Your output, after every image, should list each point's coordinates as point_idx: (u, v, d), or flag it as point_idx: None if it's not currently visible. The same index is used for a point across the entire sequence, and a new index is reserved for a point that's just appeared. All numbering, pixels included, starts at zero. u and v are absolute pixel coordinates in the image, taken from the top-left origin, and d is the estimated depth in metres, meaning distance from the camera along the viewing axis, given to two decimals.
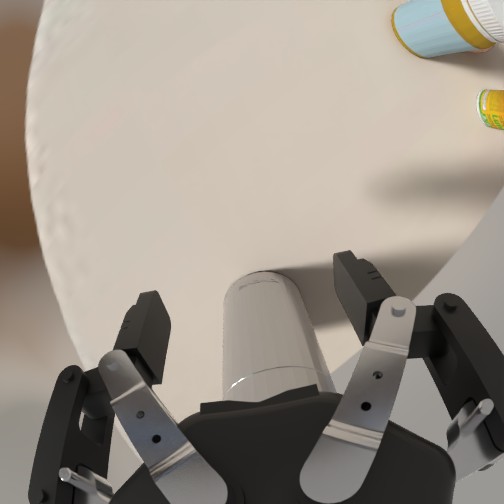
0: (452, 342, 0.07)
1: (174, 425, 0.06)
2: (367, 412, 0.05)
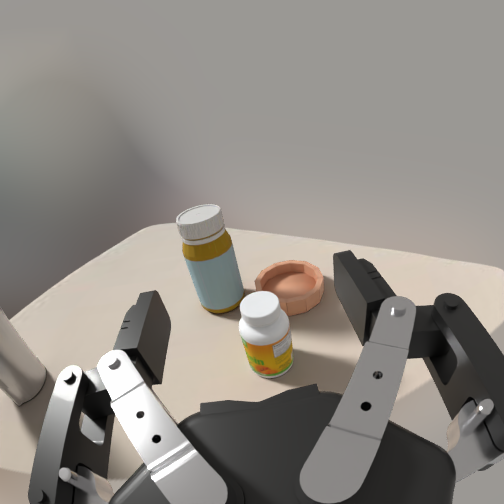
0: (452, 342, 0.07)
1: (174, 425, 0.06)
2: (367, 412, 0.05)
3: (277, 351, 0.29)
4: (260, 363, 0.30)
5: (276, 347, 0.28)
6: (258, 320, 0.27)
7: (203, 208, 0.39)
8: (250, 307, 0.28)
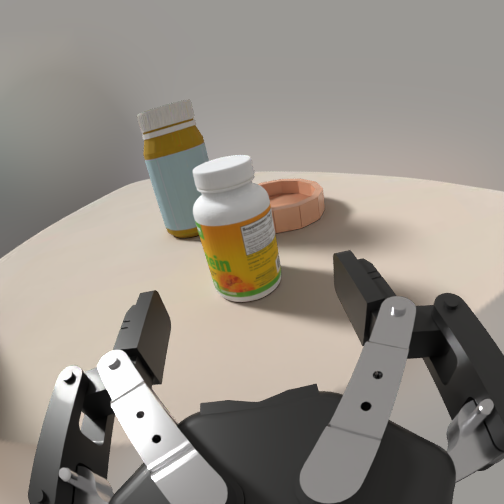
0: (452, 342, 0.07)
1: (174, 425, 0.06)
2: (367, 412, 0.05)
3: (250, 242, 0.18)
4: (224, 268, 0.19)
5: (248, 232, 0.18)
6: (216, 176, 0.17)
7: None
8: (207, 167, 0.18)
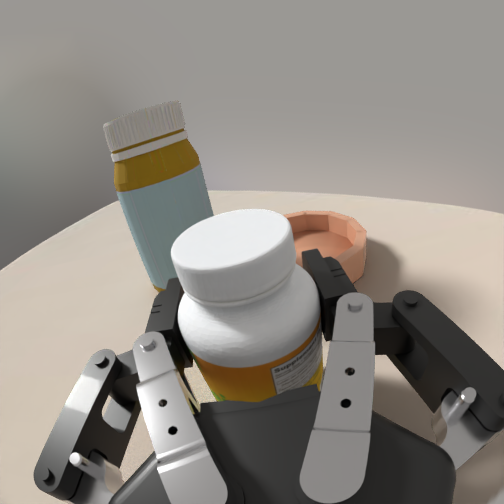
0: (419, 339, 0.07)
1: (194, 420, 0.06)
2: (367, 412, 0.05)
3: (286, 383, 0.09)
4: None
5: (283, 372, 0.09)
6: (220, 279, 0.08)
7: None
8: (200, 244, 0.09)
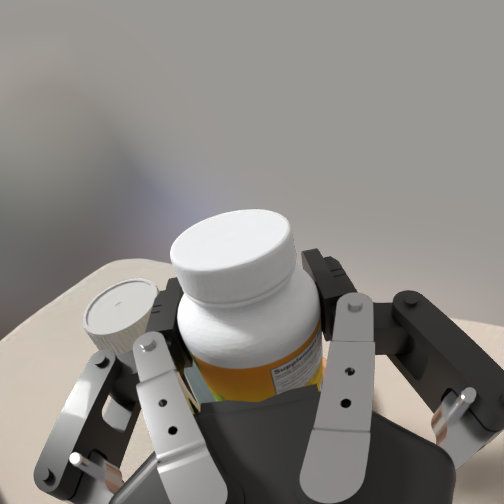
0: (419, 339, 0.07)
1: (194, 420, 0.06)
2: (367, 412, 0.05)
3: (286, 384, 0.09)
4: None
5: (283, 374, 0.09)
6: (219, 279, 0.08)
7: (132, 289, 0.20)
8: (200, 244, 0.09)
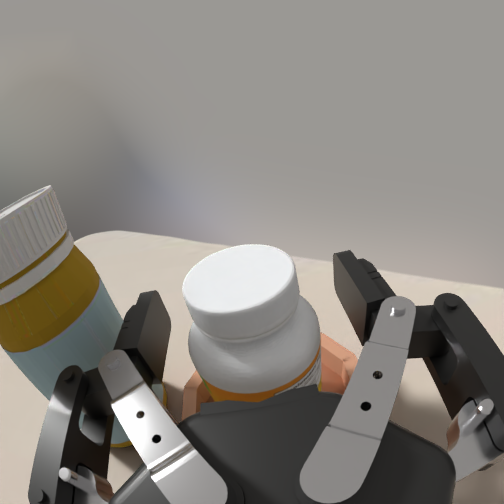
0: (452, 342, 0.07)
1: (174, 425, 0.06)
2: (367, 412, 0.05)
3: None
4: None
5: None
6: (229, 321, 0.08)
7: (27, 199, 0.11)
8: (210, 283, 0.10)
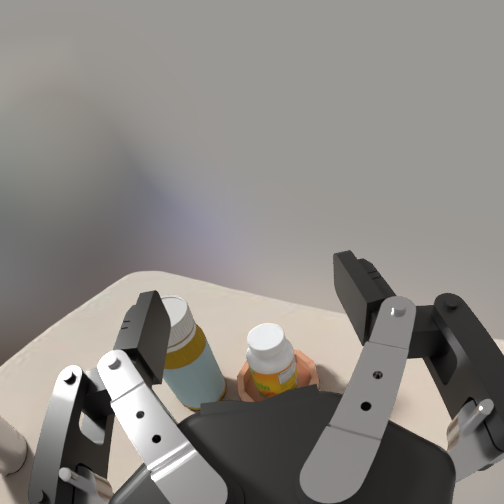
0: (452, 342, 0.07)
1: (174, 425, 0.06)
2: (367, 412, 0.05)
3: (282, 378, 0.29)
4: (266, 389, 0.30)
5: (281, 375, 0.29)
6: (264, 352, 0.28)
7: (169, 303, 0.30)
8: (257, 339, 0.29)
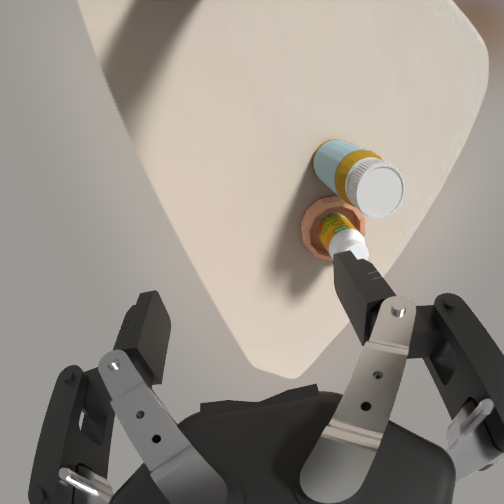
0: (452, 342, 0.07)
1: (174, 425, 0.06)
2: (367, 412, 0.05)
3: (326, 249, 0.41)
4: (323, 231, 0.41)
5: None
6: None
7: (394, 196, 0.27)
8: (353, 252, 0.35)
